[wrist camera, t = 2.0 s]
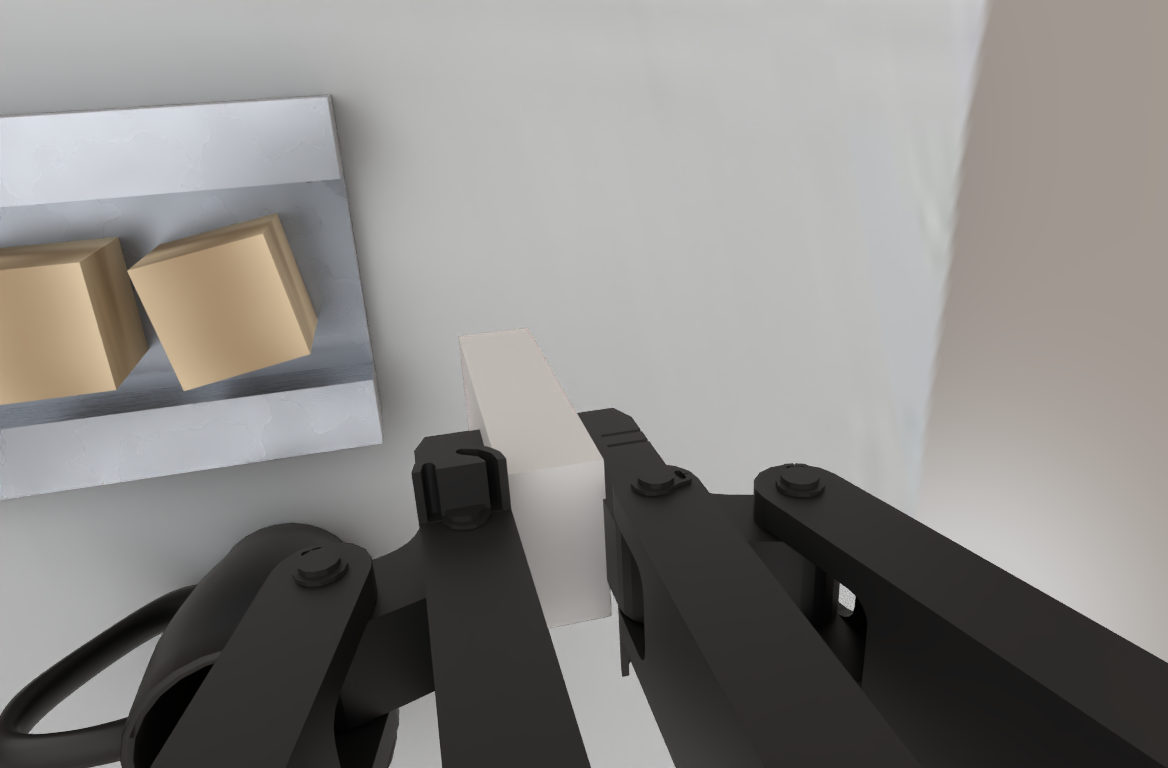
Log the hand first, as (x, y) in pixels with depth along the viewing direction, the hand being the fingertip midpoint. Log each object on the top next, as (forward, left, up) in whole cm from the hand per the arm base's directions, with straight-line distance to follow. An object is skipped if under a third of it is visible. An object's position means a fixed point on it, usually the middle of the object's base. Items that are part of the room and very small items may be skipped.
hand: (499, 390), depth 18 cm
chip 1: (-13, 0, -14) cm, 19 cm away
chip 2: (-7, 0, -14) cm, 15 cm away
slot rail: (-11, 0, -15) cm, 18 cm away
